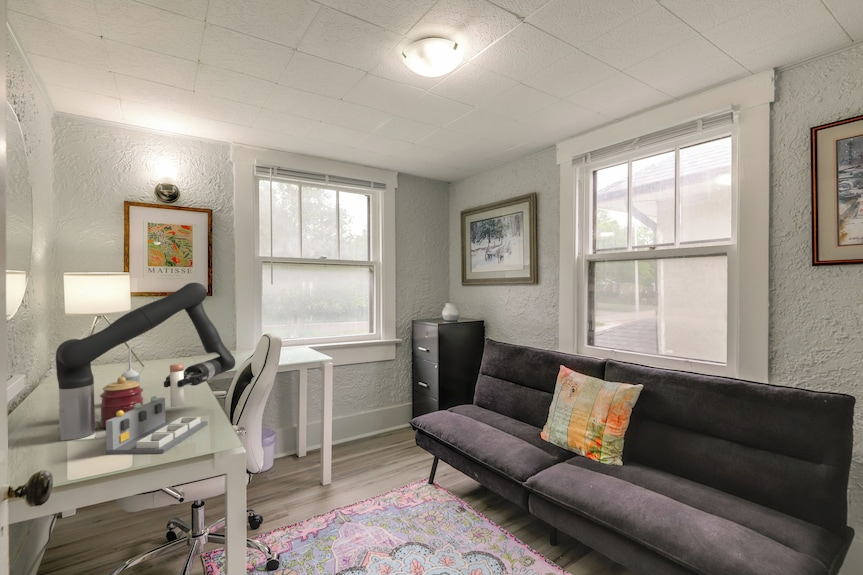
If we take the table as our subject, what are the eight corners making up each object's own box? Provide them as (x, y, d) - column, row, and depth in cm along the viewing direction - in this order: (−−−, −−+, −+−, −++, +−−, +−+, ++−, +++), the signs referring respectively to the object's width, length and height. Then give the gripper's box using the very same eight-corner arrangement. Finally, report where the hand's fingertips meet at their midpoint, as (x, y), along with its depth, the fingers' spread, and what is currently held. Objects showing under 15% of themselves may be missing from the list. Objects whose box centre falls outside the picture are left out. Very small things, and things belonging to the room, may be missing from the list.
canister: (120, 431, 146) (119, 381, 146) (91, 428, 149) (89, 380, 149) (152, 418, 159) (151, 373, 159) (124, 417, 162) (123, 372, 162)
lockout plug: (172, 407, 140) (171, 366, 140) (169, 405, 143) (168, 365, 143) (185, 405, 143) (184, 364, 143) (182, 402, 146) (181, 363, 146)
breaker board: (163, 453, 127) (162, 414, 127) (105, 453, 127) (104, 415, 127) (207, 424, 152) (206, 392, 152) (158, 425, 152) (158, 392, 152)
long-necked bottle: (131, 406, 175) (129, 348, 174) (114, 406, 176) (112, 348, 176) (147, 401, 183) (145, 345, 183) (130, 400, 184) (129, 345, 184)
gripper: (180, 363, 157) (150, 373, 140) (218, 363, 157) (192, 373, 140) (181, 383, 157) (151, 395, 140) (218, 382, 157) (193, 395, 140)
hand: (172, 384), depth 140 cm, fingers closed on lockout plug, 4 cm apart
